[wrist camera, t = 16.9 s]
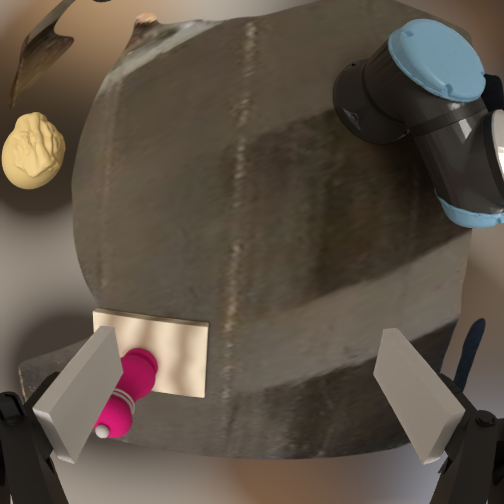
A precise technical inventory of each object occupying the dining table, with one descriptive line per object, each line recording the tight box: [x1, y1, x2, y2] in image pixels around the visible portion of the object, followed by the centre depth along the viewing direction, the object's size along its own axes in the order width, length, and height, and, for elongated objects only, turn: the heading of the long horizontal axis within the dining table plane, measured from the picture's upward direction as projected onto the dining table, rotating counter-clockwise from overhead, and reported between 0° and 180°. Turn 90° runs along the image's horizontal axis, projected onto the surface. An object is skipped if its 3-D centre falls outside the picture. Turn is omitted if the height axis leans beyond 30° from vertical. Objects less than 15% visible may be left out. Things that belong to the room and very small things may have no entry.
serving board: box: [93, 308, 209, 398], centre depth 50 cm, size 20×14×2 cm
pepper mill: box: [94, 348, 158, 438], centre depth 40 cm, size 7×7×20 cm
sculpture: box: [2, 112, 66, 189], centre depth 40 cm, size 12×12×11 cm
